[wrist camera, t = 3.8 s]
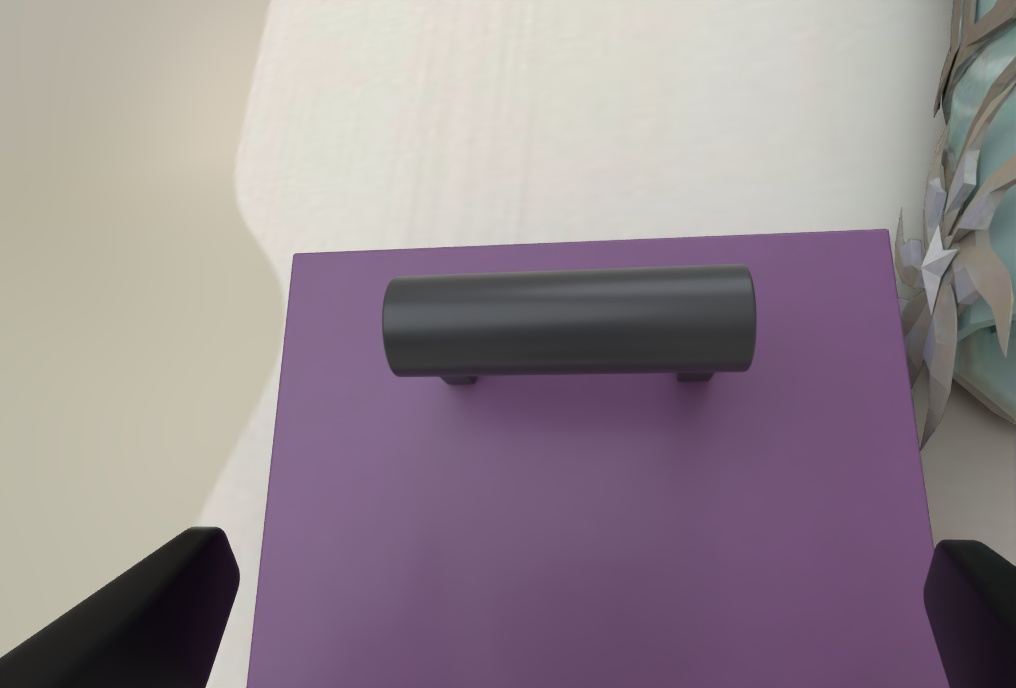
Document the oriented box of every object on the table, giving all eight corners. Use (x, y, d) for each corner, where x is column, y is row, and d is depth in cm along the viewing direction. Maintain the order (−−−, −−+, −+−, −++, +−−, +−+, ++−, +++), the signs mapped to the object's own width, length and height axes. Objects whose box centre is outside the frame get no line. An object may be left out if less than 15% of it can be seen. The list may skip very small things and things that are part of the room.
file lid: (305, 264, 18) (193, 163, 13) (876, 242, 16) (991, 113, 11) (259, 719, 15) (93, 803, 10) (946, 757, 13) (1140, 884, 8)
